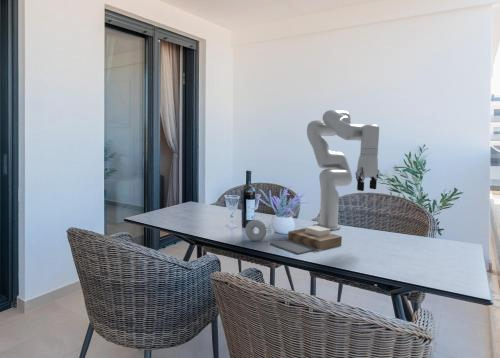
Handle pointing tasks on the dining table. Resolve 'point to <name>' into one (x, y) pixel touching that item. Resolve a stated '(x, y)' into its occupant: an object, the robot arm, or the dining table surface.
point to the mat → (293, 246)
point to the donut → (260, 226)
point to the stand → (315, 239)
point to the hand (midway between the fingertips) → (366, 189)
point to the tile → (317, 230)
